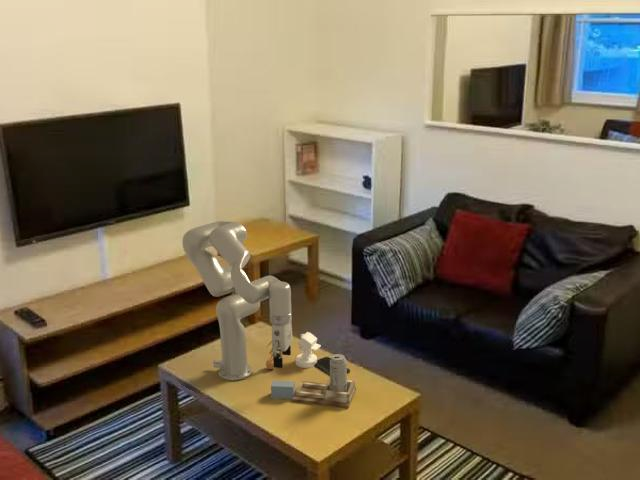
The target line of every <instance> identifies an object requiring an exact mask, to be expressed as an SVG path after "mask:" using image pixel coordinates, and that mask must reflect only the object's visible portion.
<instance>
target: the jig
mask: <svg viewBox="0 0 640 480" xmlns="http://www.w3.org/2000/svg"><path fill="white" fill-rule="evenodd" d="M356 390H357V387H356V381H355V380H349V379H347V392H338V391H330V377H329V378H328V381H327V383H323V382H314V381H306V380H305V381H304V380H301V382H300V384H299V385H298V386H297V389H296V390H295V395H294V397H293V398H292V399H291V401H292V402H293V403H294V402H295V403H303V404H309V405H310V404H311V405H317V406H318V405H319V406H328V407H336V408H343V409H345V408H346V409H349V408H350V406H351V403H352V400H353V398H354V396H355V393H356Z"/></svg>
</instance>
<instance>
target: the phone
mask: <svg viewBox="0 0 640 480" xmlns="http://www.w3.org/2000/svg"><path fill="white" fill-rule="evenodd" d="M330 360H331V357H329V356H324V357H322V358H319V359H317V363H316V364H315V366H314V367H316V368H317V369H319V370H321V371H323V372H325V373H326V374H328V375H329V376H330ZM349 373H351V369H350V368H348V367H347V375H348V374H349Z"/></svg>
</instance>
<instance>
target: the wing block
mask: <svg viewBox="0 0 640 480" xmlns="http://www.w3.org/2000/svg"><path fill="white" fill-rule="evenodd" d="M295 393H296V383H295V381H293V380H289V381H288V380H273V381H272V382H271V385H270V394H271V395H270V396H271V397H270V398H271V399H281V400H284V399H285V400H292V398H293V397H294V395H295Z"/></svg>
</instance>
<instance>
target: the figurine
mask: <svg viewBox="0 0 640 480" xmlns="http://www.w3.org/2000/svg"><path fill="white" fill-rule="evenodd" d="M270 345H272V340H271V341H270V342H269V343H268V344H267V346H266V348H267V349H268V347H269V346H270ZM278 349H281V348H278ZM278 353H279V354H280V351H278ZM269 354H270V355H271V357H270V358H269V359H267V361H266V362H265V366H266V368H267V369H268V370H274V369H275V367H274V363H273V349H272V348H271V349H270V351H269Z"/></svg>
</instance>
